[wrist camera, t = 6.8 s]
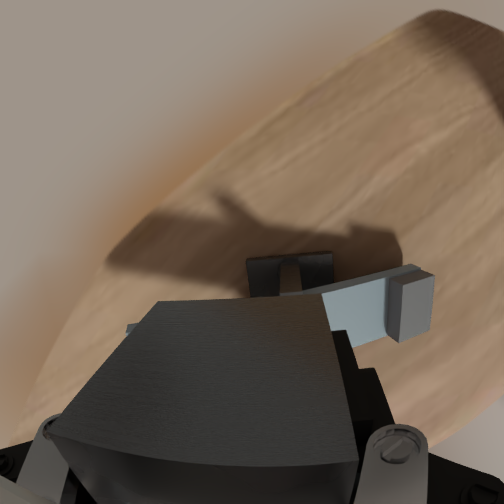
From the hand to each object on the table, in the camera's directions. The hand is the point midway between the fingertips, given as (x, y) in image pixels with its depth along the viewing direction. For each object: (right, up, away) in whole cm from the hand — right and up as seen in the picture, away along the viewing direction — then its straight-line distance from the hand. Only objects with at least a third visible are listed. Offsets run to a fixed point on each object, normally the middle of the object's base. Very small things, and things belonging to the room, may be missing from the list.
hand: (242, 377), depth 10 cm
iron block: (0, 0, +1) cm, 1 cm away
